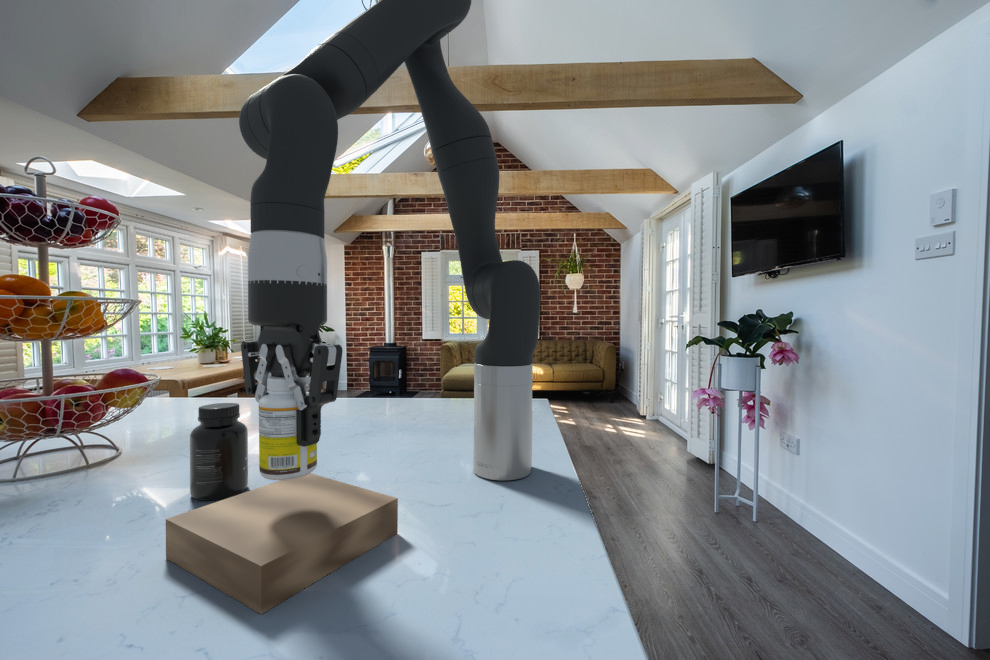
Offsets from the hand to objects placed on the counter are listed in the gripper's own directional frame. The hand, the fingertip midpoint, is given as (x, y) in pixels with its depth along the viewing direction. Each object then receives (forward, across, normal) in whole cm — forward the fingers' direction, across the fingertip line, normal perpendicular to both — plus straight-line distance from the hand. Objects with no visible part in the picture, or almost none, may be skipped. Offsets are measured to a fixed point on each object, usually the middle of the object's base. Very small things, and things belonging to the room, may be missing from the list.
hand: (289, 439), depth 47 cm
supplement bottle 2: (+4, 0, 0) cm, 4 cm away
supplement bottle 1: (+12, +21, -4) cm, 24 cm away
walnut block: (+11, 0, 0) cm, 11 cm away
